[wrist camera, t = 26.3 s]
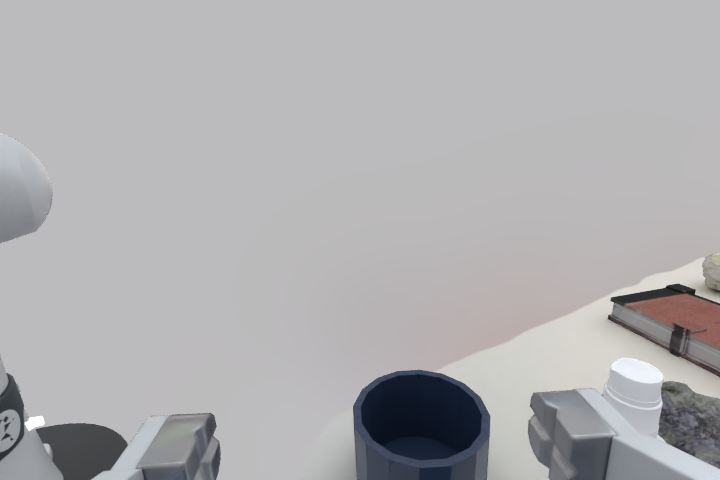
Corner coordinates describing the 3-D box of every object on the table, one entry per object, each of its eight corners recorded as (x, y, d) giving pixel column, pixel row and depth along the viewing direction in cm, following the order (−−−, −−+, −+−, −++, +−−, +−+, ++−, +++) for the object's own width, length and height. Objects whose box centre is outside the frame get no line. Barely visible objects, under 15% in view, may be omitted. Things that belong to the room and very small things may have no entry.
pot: (360, 555, 34) (355, 472, 32) (355, 439, 47) (351, 373, 45) (507, 543, 35) (514, 461, 32) (462, 431, 48) (464, 366, 45)
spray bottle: (649, 599, 30) (694, 412, 25) (556, 545, 34) (580, 375, 30) (653, 531, 35) (691, 363, 30) (572, 491, 40) (594, 338, 35)
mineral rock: (566, 438, 46) (575, 367, 43) (607, 402, 52) (618, 337, 49) (701, 523, 36) (725, 436, 33) (735, 466, 42) (757, 388, 39)
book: (605, 319, 74) (608, 295, 73) (673, 306, 78) (678, 283, 77) (776, 408, 49) (786, 375, 48) (863, 382, 54) (875, 351, 52)
